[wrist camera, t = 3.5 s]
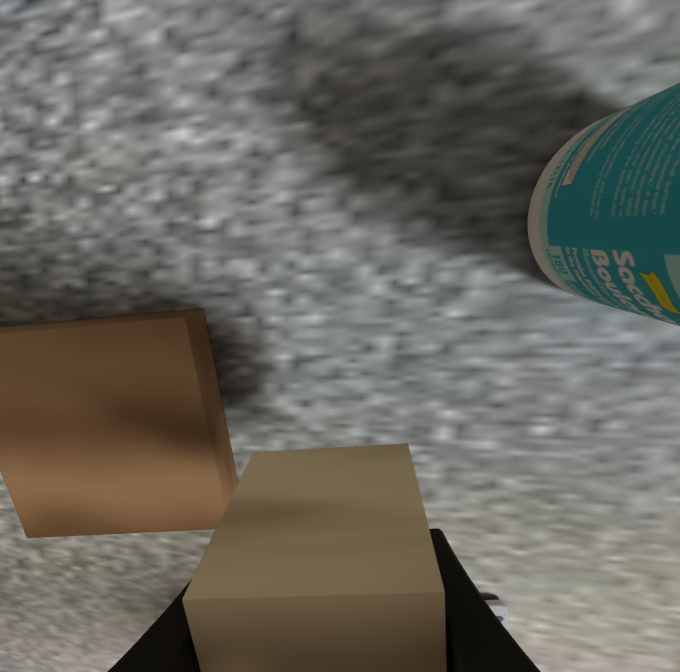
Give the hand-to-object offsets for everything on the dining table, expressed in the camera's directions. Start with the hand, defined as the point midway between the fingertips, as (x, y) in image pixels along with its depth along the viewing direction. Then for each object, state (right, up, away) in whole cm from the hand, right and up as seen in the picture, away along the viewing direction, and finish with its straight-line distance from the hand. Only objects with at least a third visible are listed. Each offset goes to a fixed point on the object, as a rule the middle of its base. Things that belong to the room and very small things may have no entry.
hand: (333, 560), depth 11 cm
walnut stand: (-11, +2, +9) cm, 14 cm away
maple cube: (0, +1, +2) cm, 2 cm away
